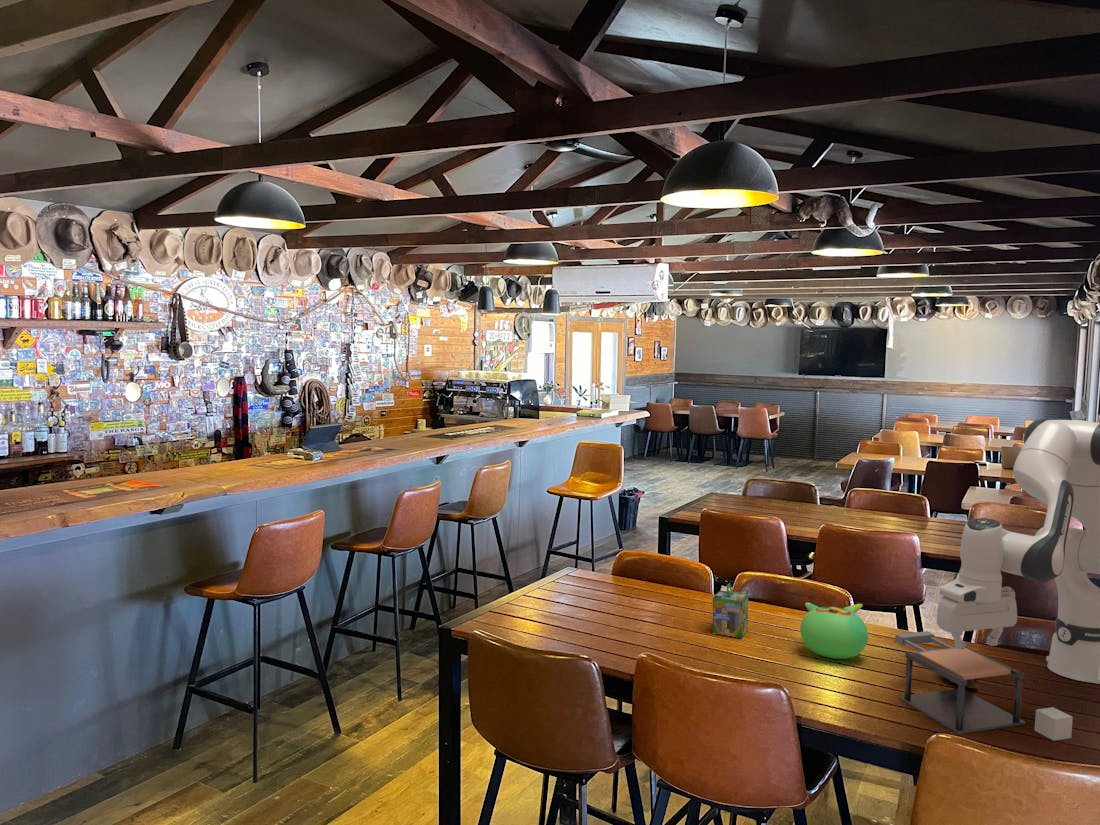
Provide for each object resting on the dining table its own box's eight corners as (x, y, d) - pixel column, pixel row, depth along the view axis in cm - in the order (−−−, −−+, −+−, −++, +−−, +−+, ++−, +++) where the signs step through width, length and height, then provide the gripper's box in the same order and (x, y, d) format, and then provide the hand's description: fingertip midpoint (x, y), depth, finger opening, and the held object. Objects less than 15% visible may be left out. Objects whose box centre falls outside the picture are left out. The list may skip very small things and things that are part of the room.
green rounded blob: (797, 661, 220) (800, 609, 219) (800, 641, 236) (802, 592, 235) (867, 671, 214) (870, 618, 213) (866, 649, 230) (868, 600, 229)
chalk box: (741, 639, 236) (743, 590, 235) (711, 634, 241) (712, 586, 239) (748, 630, 245) (750, 583, 244) (719, 625, 249) (720, 578, 248)
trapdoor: (887, 642, 205) (888, 635, 204) (933, 637, 209) (934, 630, 209) (961, 682, 182) (961, 673, 181) (1011, 676, 186) (1011, 667, 186)
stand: (899, 698, 197) (901, 651, 197) (961, 690, 203) (964, 644, 202) (958, 734, 179) (961, 682, 178) (1025, 724, 185) (1028, 674, 184)
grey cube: (1051, 728, 183) (1052, 707, 183) (1071, 738, 179) (1072, 716, 178) (1034, 730, 182) (1035, 709, 182) (1053, 741, 177) (1055, 719, 177)
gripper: (1003, 582, 191) (1000, 638, 192) (933, 587, 186) (930, 645, 187) (1026, 589, 185) (1022, 647, 186) (954, 596, 180) (951, 655, 181)
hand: (976, 646), depth 187 cm, fingers open, 8 cm apart
